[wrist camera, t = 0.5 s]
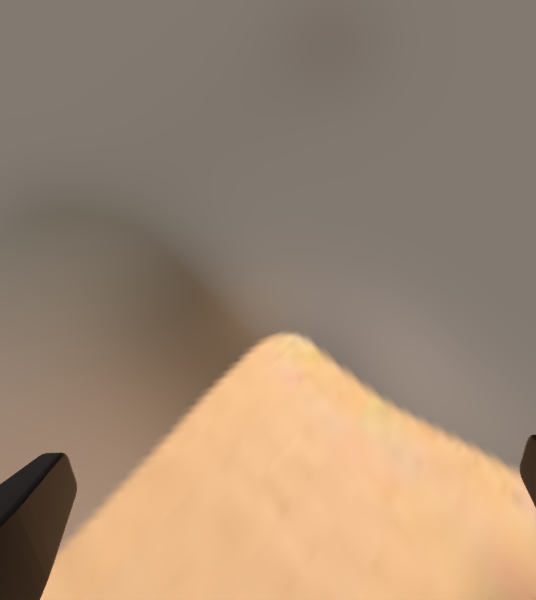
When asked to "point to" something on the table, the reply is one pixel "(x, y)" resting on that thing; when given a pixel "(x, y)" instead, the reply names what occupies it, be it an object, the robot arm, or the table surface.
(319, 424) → the table surface
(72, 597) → the table surface
